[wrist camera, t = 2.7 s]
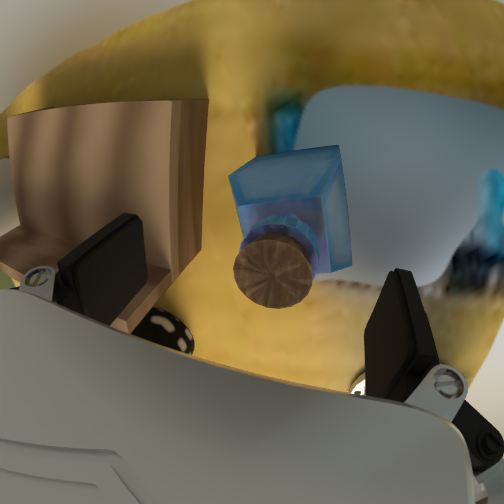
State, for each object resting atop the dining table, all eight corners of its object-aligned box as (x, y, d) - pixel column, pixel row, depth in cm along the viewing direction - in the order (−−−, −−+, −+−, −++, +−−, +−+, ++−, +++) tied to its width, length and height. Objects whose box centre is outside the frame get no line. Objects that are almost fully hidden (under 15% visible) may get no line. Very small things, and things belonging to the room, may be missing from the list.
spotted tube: (123, 310, 34) (23, 429, 17) (173, 303, 31) (62, 456, 14) (156, 358, 37) (79, 476, 20) (206, 358, 34) (129, 503, 17)
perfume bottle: (255, 156, 22) (179, 212, 11) (338, 144, 20) (344, 190, 9) (272, 232, 24) (221, 334, 14) (349, 224, 22) (354, 333, 12)
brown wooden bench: (208, 99, 20) (104, 107, 10) (201, 249, 27) (129, 335, 17) (46, 108, 24) (-42, 132, 14) (55, 214, 30) (-17, 260, 20)
